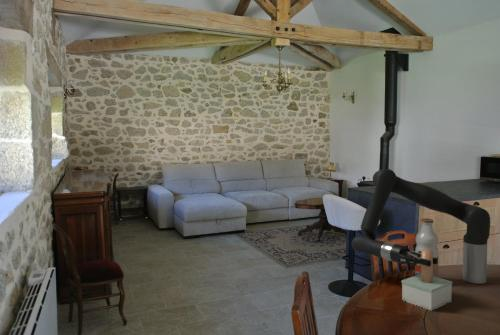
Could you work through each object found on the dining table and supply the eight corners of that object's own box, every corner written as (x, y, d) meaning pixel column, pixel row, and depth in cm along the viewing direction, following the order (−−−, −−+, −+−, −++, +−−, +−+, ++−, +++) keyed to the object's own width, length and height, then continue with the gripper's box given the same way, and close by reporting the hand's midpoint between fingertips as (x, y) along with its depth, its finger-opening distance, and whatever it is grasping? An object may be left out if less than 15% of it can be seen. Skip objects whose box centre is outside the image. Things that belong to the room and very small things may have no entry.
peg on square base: (422, 279, 159) (422, 244, 158) (452, 287, 149) (452, 251, 148) (401, 286, 151) (401, 250, 150) (431, 296, 141) (432, 257, 140)
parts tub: (422, 292, 159) (422, 275, 159) (451, 301, 149) (451, 284, 149) (402, 300, 151) (402, 283, 151) (431, 311, 141) (431, 292, 141)
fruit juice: (442, 285, 167) (443, 221, 165) (420, 285, 167) (421, 221, 165) (431, 277, 176) (432, 217, 175) (411, 278, 176) (411, 217, 175)
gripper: (384, 246, 157) (423, 256, 143) (404, 241, 165) (444, 249, 151) (384, 264, 157) (423, 276, 143) (404, 258, 165) (443, 268, 151)
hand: (433, 262), depth 147 cm, fingers closed on peg on square base, 4 cm apart
